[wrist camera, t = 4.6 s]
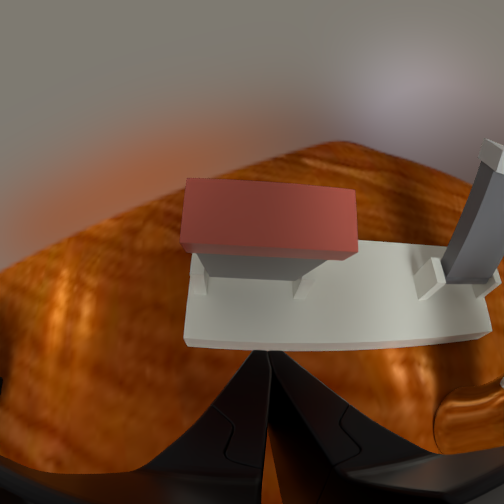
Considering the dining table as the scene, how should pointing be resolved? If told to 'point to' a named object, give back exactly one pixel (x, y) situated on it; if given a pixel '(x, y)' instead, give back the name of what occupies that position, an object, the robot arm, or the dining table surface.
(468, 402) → the beer glass
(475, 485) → the robot arm
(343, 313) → the switch console
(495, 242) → the grey lever
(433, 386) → the dining table surface
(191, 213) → the red-capped switch paddle
